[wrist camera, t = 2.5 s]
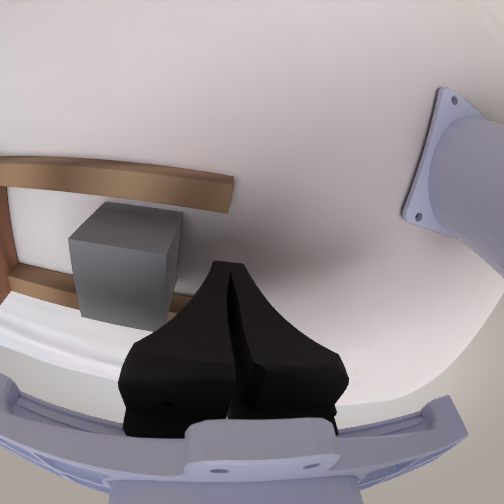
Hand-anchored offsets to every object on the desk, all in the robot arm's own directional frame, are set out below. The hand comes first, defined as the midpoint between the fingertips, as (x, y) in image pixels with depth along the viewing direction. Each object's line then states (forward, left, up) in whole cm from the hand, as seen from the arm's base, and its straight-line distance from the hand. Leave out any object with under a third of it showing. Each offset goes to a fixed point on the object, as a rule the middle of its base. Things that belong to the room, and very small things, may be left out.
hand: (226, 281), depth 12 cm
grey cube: (+4, 0, -2) cm, 5 cm away
